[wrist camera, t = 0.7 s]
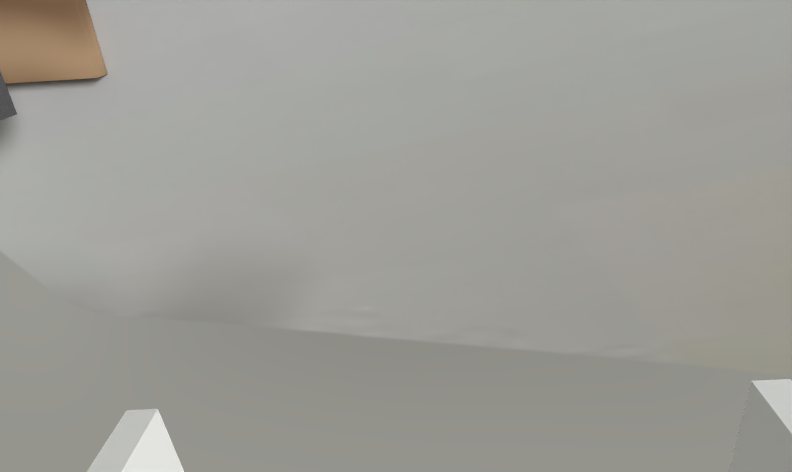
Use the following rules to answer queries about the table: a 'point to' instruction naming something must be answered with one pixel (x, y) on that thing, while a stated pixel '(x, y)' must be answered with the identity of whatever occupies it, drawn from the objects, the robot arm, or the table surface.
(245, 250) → the table surface
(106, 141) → the table surface
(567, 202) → the table surface
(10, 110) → the shaft
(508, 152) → the table surface
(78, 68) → the walnut board
